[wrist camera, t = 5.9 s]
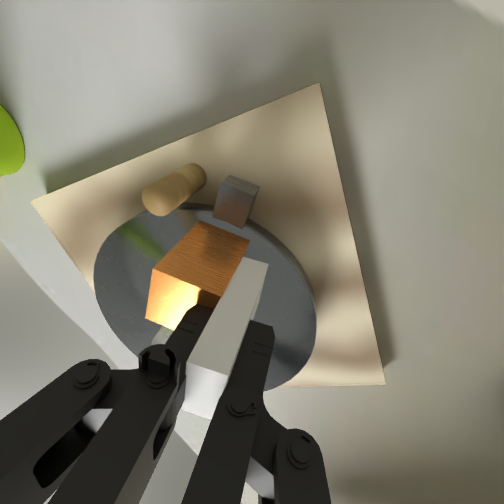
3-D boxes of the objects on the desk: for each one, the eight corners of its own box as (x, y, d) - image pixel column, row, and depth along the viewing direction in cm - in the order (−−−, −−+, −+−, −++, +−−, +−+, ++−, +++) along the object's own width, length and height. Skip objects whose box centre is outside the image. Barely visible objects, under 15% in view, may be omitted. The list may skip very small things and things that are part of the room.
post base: (382, 368, 24) (398, 445, 18) (170, 378, 31) (140, 433, 26) (319, 82, 15) (315, 79, 10) (46, 195, 23) (-35, 225, 18)
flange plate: (270, 402, 25) (254, 491, 19) (105, 333, 25) (43, 400, 20) (382, 234, 15) (414, 317, 10) (111, 128, 16) (-5, 148, 10)
